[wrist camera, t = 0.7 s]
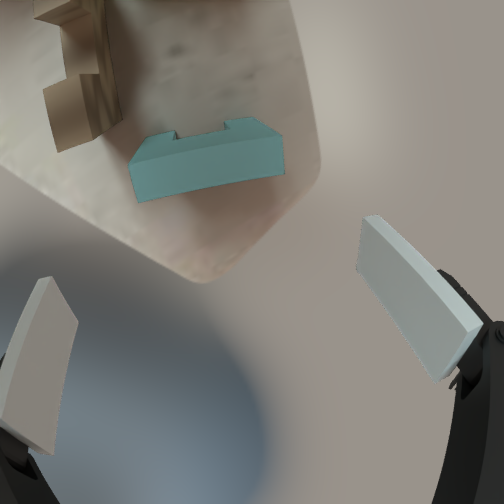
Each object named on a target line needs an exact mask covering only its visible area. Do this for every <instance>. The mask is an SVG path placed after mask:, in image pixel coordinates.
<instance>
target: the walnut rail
mask: <svg viewBox="0 0 504 504" xmlns="http://www.w3.org/2000/svg"><path fill="white" fill-rule="evenodd" d="M33 11H34V19H37V20H41V21H45V22H48V23H51V24H55V25H58V26H60V34H61V43H62V51H63V58H64V65H65V71H66V77H67V79H65V80H63V81H60V82H58V83H56V84H53V85H51V86H49V87H47V88H45V89H43V94H44V99H45V104H46V108H47V113H48V117H49V121H50V126H51V130H52V134H53V137H54V141H55V145H56V148H57V152H58V153H59V152H61V151H64V150H66V149H69V148H72V147H75V146H77V145H80V144H83V143H86V142H89V141H92V140H94V139H95V138H97V137H98V136H99V135H101V134H102V133H104V132H105V131H106V130H108V129H109V128H111V127H112V126H114V125H115V124H117V123H118V122H120V121H121V120H122V115H121V110H120V106H119V101H118V95H117V90H116V85H115V79H114V74H113V68H112V62H111V55H110V48H109V41H108V34H107V26H106V17H105V7H104V0H33Z"/></svg>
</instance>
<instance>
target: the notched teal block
mask: <svg viewBox="0 0 504 504" xmlns="http://www.w3.org/2000/svg"><path fill="white" fill-rule="evenodd" d="M224 125H225V130H223V131H217V132H212V133H206V134H201V135H196V136H191V137H186V138H181V139H176V134H175V131H171V132H166V133H162V134H158V135H154V136H149V137H146V138H145V140H144V141H143V143H142V144H141V146H140V147H139V149H138V150H137V152H136V153H135V155H134V156H133V158H132V159H131V161H130V162H129V164H128V169H129V172H130V176H131V180H132V183H133V187H134V190H135V194H136V197H137V201H138V203H141V202H145V201H149V200H153V199H157V198H162V197H166V196H171V195H175V194H180V193H184V192H189V191H194V190H199V189H204V188H209V187H214V186H219V185H224V184H229V183H235V182H240V181H246V180H252V179H258V178H264V177H270V176H276V175H282V174H285V170H284V155H283V142H282V135H280V134H279V133H277V132H276V131H274V130H273V129H271V128H270V127H268V126H267V125H265V124H264V123H262V122H260V121H259V120H257V119H256V118H254V117H249V118H241V119H235V120H228V121H224Z"/></svg>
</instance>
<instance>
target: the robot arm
mask: <svg viewBox="0 0 504 504" xmlns="http://www.w3.org/2000/svg"><path fill="white" fill-rule="evenodd" d="M356 270H357V272H358V273H359V274H360V276H361V277H362V278H363V280H364V281H365V282H366V284H367V285H368V286H369V288H370V289H371V290H372V292H373V293H374V295H375V296H376V297H377V299H378V300H379V302H380V303H381V304H382V306H383V307H384V309H385V310H386V311H387V313H388V314H389V316H390V317H391V319H392V320H393V322H394V323H395V324H396V326H397V327H398V328H399V330H400V331H401V333H402V335H403V336H404V337H405V339H406V341H407V342H408V344H409V345H410V347H411V348H412V350H413V351H414V353H415V354H416V356H417V357H418V359H419V360H420V362H421V363H422V365H423V367H424V368H425V370H426V371H427V373H428V374H429V376H430V378H431V380H432V381H433V383H434V384H435V383H437V382H439V381H441V380H442V379H444V378H446V377H448V376H449V375H450V374H451V373H452V371H453V370H454V369H455V367H456V366H457V367H458V368H459V369H460V372H459V373H458V374H457V376H456V377H455V379H454V380H453V381H452V382H451V384H450V386H449V389H452V388H453V386H454V385H455V384H456V383H457V386H456V388H455V390H456V396H455V404H454V411H453V418H452V424H451V430H450V435H449V440H448V446H447V450H446V454H445V459H444V463H443V467H442V471H441V474H440V478H439V481H438V485H437V488H436V491H435V495H434V498H433V501H432V504H504V322H503V321H495V322H493V321H492V320H491V319H490V318H489V317H488V316H487V314H486V313H485V312H484V311H483V310H482V309H481V307H480V306H479V305H478V304H477V303H476V302H475V301H474V299H473V298H472V297H471V296H470V295H469V294H467V292H466V291H465V290H464V289H463V287H460V284H459V283H458V282H457V281H456V280H455V279H454V278H453V277H452V276H451V275H449V274H447V273H446V272H444V271H442V270H441V269H440V270H437V271H436V270H435V269H434V268H433V266H431V264H430V263H428V262H427V260H426V259H425V258H424V257H423V256H422V255H421V254H420V253H419V252H418V251H417V250H416V249H414V248H413V247H412V246H411V245H410V244H409V243H408V242H407V241H406V240H405V239H404V238H403V237H402V236H401V235H400V234H399V233H398V232H397V231H395V230H394V229H393V228H392V227H391V226H390V225H389V224H388V223H387V222H386V221H384V220H383V219H382V218H381V217H380V216H379V215H372V216H366V217H363V220H362V229H361V237H360V245H359V253H358V259H357V266H356ZM78 323H79V322H78V320H77V319H76V317H75V316H74V314H73V312H72V311H71V309H70V307H69V306H68V304H67V302H66V301H65V299H64V297H63V295H62V294H61V292H60V290H59V288H58V286H57V285H56V283H55V281H54V279H53V277H52V276H50V277H46V278H41V279H39V280H38V281H37V283H36V285H35V287H34V289H33V292H32V293H31V296H30V298H29V300H28V302H27V304H26V306H25V308H24V310H23V313H22V315H21V317H20V319H19V322H18V324H17V326H16V329H15V331H14V334H13V336H12V339H11V341H10V344H9V346H8V349H7V352H6V353H5V354H4V356H3V357H2V358H1V360H0V504H60V503H59V501H58V500H57V498H56V497H55V495H54V493H53V492H52V490H51V489H50V487H49V485H48V484H47V482H46V480H45V478H44V477H43V475H42V473H41V471H40V470H39V468H38V466H37V464H36V462H35V460H34V458H33V457H32V456H31V454H29V453H28V447H30V448H31V449H33V450H34V451H36V452H37V453H40V454H46V455H52V456H54V449H55V438H56V430H57V423H58V415H59V409H60V403H61V397H62V391H63V386H64V381H65V376H66V371H67V367H68V362H69V357H70V354H71V349H72V345H73V341H74V337H75V333H76V330H77V326H78Z"/></svg>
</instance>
